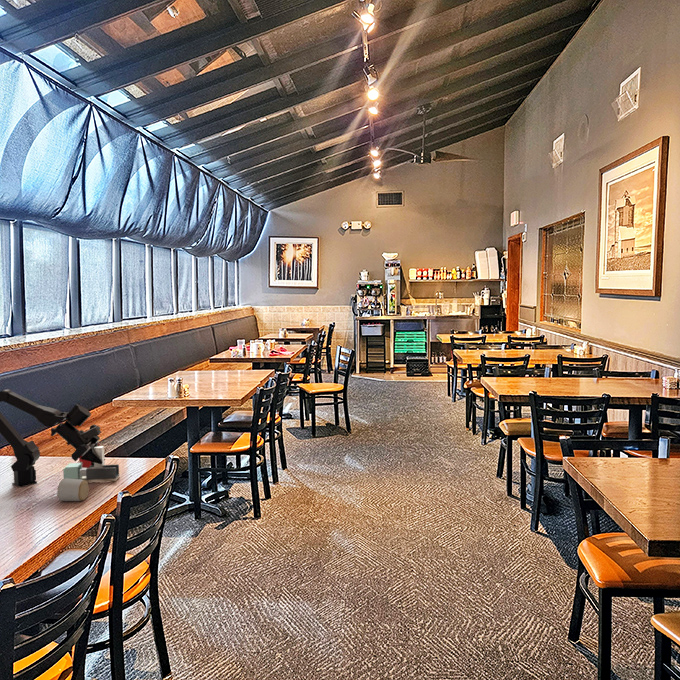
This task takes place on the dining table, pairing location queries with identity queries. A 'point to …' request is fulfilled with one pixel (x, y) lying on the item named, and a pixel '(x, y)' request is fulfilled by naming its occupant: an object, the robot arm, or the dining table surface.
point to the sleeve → (103, 472)
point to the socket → (72, 470)
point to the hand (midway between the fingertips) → (103, 462)
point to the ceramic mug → (72, 490)
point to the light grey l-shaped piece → (100, 453)
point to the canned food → (86, 463)
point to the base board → (98, 480)
